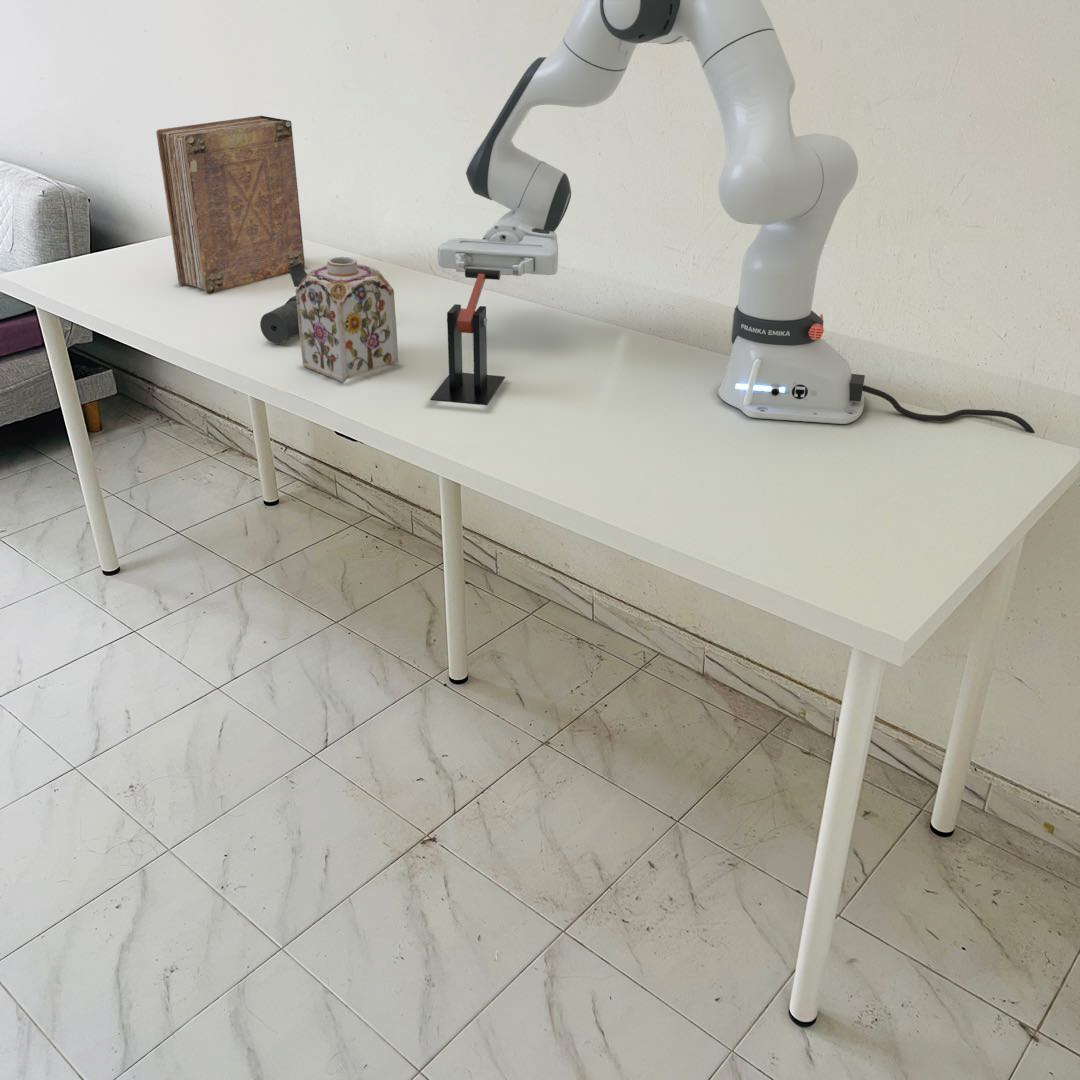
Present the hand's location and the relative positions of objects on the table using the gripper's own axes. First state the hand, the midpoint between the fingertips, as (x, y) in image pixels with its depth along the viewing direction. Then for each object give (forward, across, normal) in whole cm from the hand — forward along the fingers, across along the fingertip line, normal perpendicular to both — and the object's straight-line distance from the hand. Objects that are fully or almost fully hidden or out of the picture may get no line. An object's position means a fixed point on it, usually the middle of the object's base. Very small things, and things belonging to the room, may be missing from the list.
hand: (488, 269), depth 176 cm
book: (-39, -62, +16) cm, 75 cm away
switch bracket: (+13, 0, +16) cm, 21 cm away
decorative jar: (+6, -22, +16) cm, 28 cm away
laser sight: (-12, -37, +16) cm, 42 cm away
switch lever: (+8, 0, +3) cm, 9 cm away
